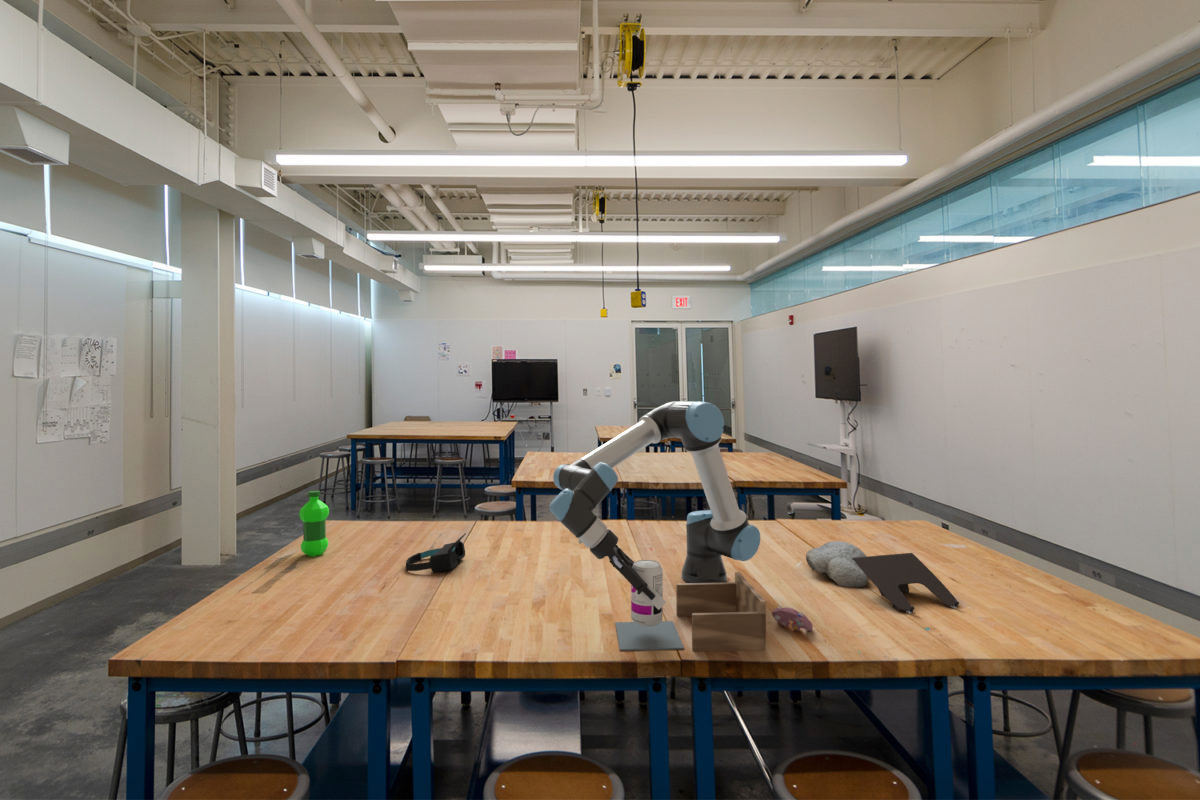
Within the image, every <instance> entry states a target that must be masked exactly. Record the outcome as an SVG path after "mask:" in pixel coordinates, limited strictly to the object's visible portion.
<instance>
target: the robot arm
mask: <svg viewBox="0 0 1200 800" xmlns="http://www.w3.org/2000/svg"><path fill="white" fill-rule="evenodd" d="M724 427H725V420H724V415H723V414H722V412H721V410H720V408H719V407H717V406H716V405H715V404H713V403H712V402H706V401H702V400H696V401H681V400H675V401H669V402H666V403H664V404H662V405H659V406H657V407H655V408H654V409H652V410H651V411H649V412H647V413H645V414H644V415H642V416H641V417H640V418H639V419H638V422H637V423H635V424H634V425H632V426H631V427H629V428H628V429H625V430H624V431H623V432H621V433H619V434H618V435H617V436H615V437H612V438H611V439H610V440H607V442H605V443H604V444H602V445H600V446H599V447H597V448H595V449H594V450H591V452H589V453H587V454H586V455H584V456H582V457H581V458H579V459H578V460H576V461H574V462H573V463H571V464H569V463H566V464H561V465H559V466H558V467H556V469H554V472H553V475H552V479H553V484H554V485H555V486H556V487H557V488H558V489H559V490H561V491H560V492H559V494H557V495H556V496H555V497H554V498H553V499H552V501H551V502H550V503H549V506H548V507H549V511H550V512H551V514H552V515H553V516H554V517H555V518H556V519H557V521H558V522H560V523H561V524H562V526H564V527H565V528H566V529H567V530H568V531H569V532H570V533H572V535H574V536H575V538H577V539H578V541H577V542H578V544H579V545H580V544H583V546H585V548H586V549H589V552H591V554H593V556H594V557H596V559H598V560H603V559H604V558H605V557H608V559H609V560H608V561H609V563H610V564H611V566H612V567H613V568H615V569H616V570H617V571H618V572H619V573H620V574H621V575H622V576H623V577H624V579H626V581H627V582H628V583H629V584H631V585H632V586H633V587H634V588H635V589H636V590H637V591H638V592H637V594H640V593H642V594H643V595H644V596H645V597H646V598H647V599H648V600H649V601H650V602H651V603H652V604H653V605H654V606H655V607H656V608H657V609H658V610H659V609H660V608H661V607H662V608H663V606H665V604H666V603H667V601H666V600H665V599H664V597H661V596H660V595H659V594H658V593H657V592H656V591H655V590H654V589H653V588H652V587H651V586H650V585H649V584H647V583H645V581H644V580H643V579H642V578H641V577H640V576H639V575H638V574H637V573H636V571H635V570H634V569H633V568H632V566H633V564H634V562H635V561H634V560H633V559H632V558H631V557H630V556H629V555H627V553H625V552H624V551H623V549H622V548H620V547H619V545H618V542H619V537H618V536H617V535H616V533H614V531H612V530H611V529H608V526H607V524H605V523H604V522H603V521H602V520H601V519H600V518H599V517H598V516H597V515H596V514H595V513H594V512H593V511H594V510H595V509H596V508H597V506H598V505H599V504H601V502H602V501H603V500H604V499H605V498H606V497H607V495H608V494H609V493H611V491H612V489H613V488H614V487H615V486H616V484H617V483H618V481H619V477H618V474H617V472H616V471H615V470H614V468H615V467H617V466H618V465H620V464H621V463H623V462H624V461H626V460H628V459H629V458H630V457H632V456H634V455H635V454H636V453H638V452H640V451H641V450H643V449H644V448H646V447H647V446H649V445H650V444H658V443H660V442H661V441H663V440H666V439H674V438H675V439H681V442H682V445H683V448H684V450H685V451H686V452H689V453H690V454H691V456H692V459H693V461H694V465H695V468H696V471H697V474H698V477H699V480H700V482H701V486H702V489H703V492H704V494H705V497H706V501H707V503H708V507H709V509H707V510H706V509H705V510H696V511H691V512H689V513H688V514H687V516H686V525H685V526H686V557H685V559H684V563H683V565H682V569H681V579H682V580H683V581H684V582H685V583H727V579H728V578H727V570H726V567H725V565H724V561H723V558H722V556H724V557H726V558H729V559H732V560H735V561H741V562H747V561H750V560H751V559H753V557H754V556H755V555H756V554H757V551H759V547H760V545H761V533H760V530H759V528H758V527H757V526H756V525H754V524H750V522H749V521H748V516H747V514H746V513H745V511H743V510H741V509H740V508H739V505H738V501H737V499H736V495H735V492H734V490H733V487H732V484H731V480H730V477H729V473H728V471H727V467H726V464H725V462H724V459H723V456H722V452H721V450H720V445H719V444H720V443H721V441H722V435H723V433H724ZM631 585H630V586H631Z"/></svg>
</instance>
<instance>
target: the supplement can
mask: <svg viewBox="0 0 1200 800" xmlns="http://www.w3.org/2000/svg"><path fill="white" fill-rule="evenodd" d="M632 568H633V569H634V570H635V571H636V573H637V574H638V575H639V576H640V577H641V578H642V579H643V580H644V581H645V583H647V584H649V585H650V586H651V587H652V588H653V589H654V590H655V591H656V592H657V593H658V594H659V595H660V596H661V597H662V598H664V597H663V590H664V589H663V585H664V584H663V580H664V579H663V578H664V577H663V576H664V575H663V573H664V571H663V567H662V566H661V563H660V562H659V561H656V560H653V559H641V560H635V561H634V564H633V566H632ZM630 587H631V588H630V589H631V590H630V593H631V594H630V595H631V596H630V598H631V599H630V604H631V605H630V618H631V620H632V622H634V623H636V624H638V625H641V626H655V625H657V624H659V623H660V622H661V621H663V606H662V607H661V608H660V609H659V610H658V609H657V608H656V607H655V606H654V605H653V604H652V603H651V602H650V601H649V600H648V599H647V598H646V597H645V596H644V595H643V594H642V593H640V594H637V592H638V591H637V590H636V589H635V588H634V587H633V586H632V585H630Z"/></svg>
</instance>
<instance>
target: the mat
mask: <svg viewBox="0 0 1200 800" xmlns="http://www.w3.org/2000/svg"><path fill="white" fill-rule="evenodd" d="M614 625H615V631H616V637H617V641H618V647H619V652H622V651H627V652H628V651H665V650H667V651H668V650H685V647H684V644H683V643H682V640H681V637H680V635H679V633H678V630H677V628H676V625H675V623H674V621H673V620H662V621H661V622H660V623H659V624H657V625H655V626H641V625H638V624H636V623H634V621H615V623H614Z"/></svg>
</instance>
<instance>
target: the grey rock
mask: <svg viewBox="0 0 1200 800" xmlns="http://www.w3.org/2000/svg"><path fill="white" fill-rule="evenodd" d="M805 555H806V556H805V560H806V563H807V565H808V566H809V568H810V569H811V570H812V571H813V572H814V571H815V572H818V573H821V574H823V573H825V574H826V575H827V576H828V577H829V578H830V580H833V581H834V582H835V583H836V584H837V586H839V587H841V588H842V587H843V588H861V587H862V588H865V587H867V585H868V583H869V578H868V577H867V576H866V574H865V573H864V572H863V571H862V570H861V568H860V567H859V566H858V565H857V563H856V562H855V561H854V560H853V559H852V558H856V557H868V556H867V555H866V554H865V553H864V551H863V550H862V549H860V548H859V547H857V546H856V545H854V544H852V543H851V542H846V541H842V540H841V541H840V540H833V541H828V542H825V543H824V544H822V545H821V546H818V547H813V548H811V549H810V550H808V551H807V552H806V554H805Z"/></svg>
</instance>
